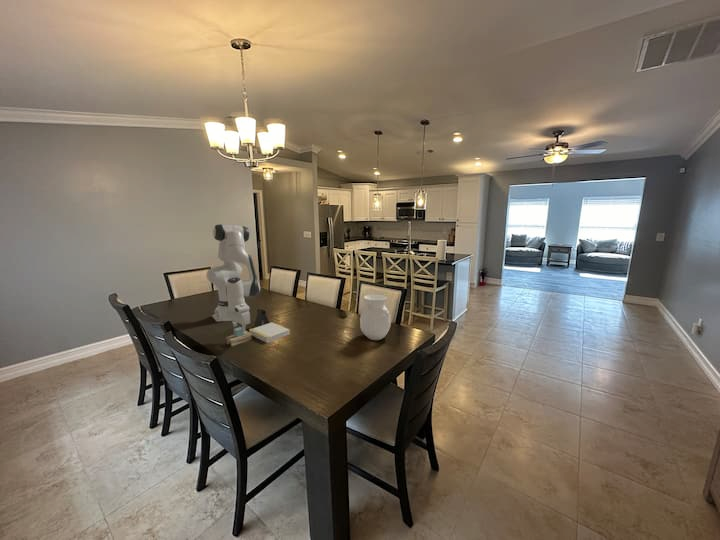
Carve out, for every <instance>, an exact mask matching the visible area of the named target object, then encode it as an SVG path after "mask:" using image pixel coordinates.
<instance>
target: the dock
mask: <svg viewBox="0 0 720 540" xmlns="http://www.w3.org/2000/svg"><path fill="white" fill-rule="evenodd" d="M261 325H262V324H261ZM248 332H249V333H251V337H254V338H256V339H258V340H261V341H262V342H265V343H267V344H269V343H271V342H273V341H277V340H279V339H282V338H284V337H286V336H287V337H288V336H290V335H291V330H290V329H289V328H286V327H284V326H281V325H279V324H277V323H275V322H270V323H268V324H265V325H262V326H259V327H256V328H255V327H254V328H249V329H248Z"/></svg>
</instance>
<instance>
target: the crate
mask: <svg viewBox="0 0 720 540" xmlns="http://www.w3.org/2000/svg"><path fill="white" fill-rule="evenodd" d="M241 328H242V326H238V327H234V328H233V335H234V336H236V337H240V336H243V335H244V331H242V330H241Z"/></svg>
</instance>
